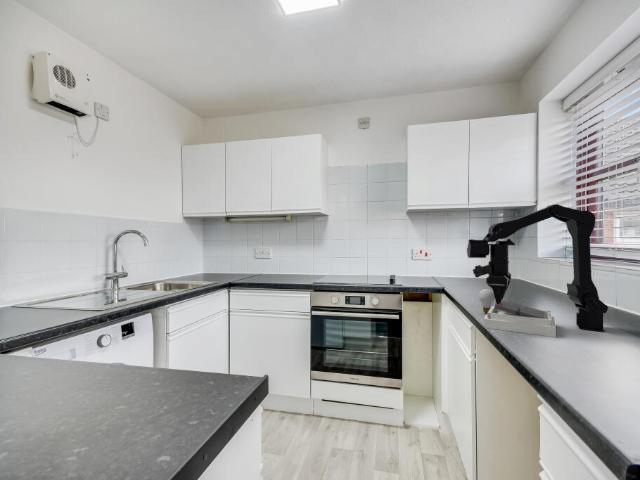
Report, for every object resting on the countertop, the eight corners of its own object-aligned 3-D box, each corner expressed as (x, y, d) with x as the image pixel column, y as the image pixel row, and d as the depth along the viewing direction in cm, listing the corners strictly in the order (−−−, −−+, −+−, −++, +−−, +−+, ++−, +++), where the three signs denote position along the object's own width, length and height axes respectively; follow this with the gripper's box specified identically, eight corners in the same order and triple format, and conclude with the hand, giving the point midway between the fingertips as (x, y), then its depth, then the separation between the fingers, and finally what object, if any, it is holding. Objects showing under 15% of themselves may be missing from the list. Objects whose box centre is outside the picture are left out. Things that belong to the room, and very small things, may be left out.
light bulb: (491, 312, 133) (491, 288, 133) (497, 315, 127) (497, 290, 127) (476, 311, 134) (476, 287, 134) (482, 315, 128) (482, 290, 128)
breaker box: (554, 325, 112) (553, 311, 112) (555, 337, 99) (555, 321, 99) (489, 317, 123) (489, 304, 123) (483, 327, 110) (483, 312, 110)
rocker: (542, 314, 112) (543, 310, 112) (542, 322, 102) (543, 317, 102) (498, 302, 120) (498, 299, 120) (494, 308, 110) (495, 304, 110)
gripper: (478, 256, 127) (478, 295, 127) (469, 259, 111) (470, 303, 111) (511, 256, 120) (511, 298, 120) (506, 259, 105) (507, 307, 105)
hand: (499, 301), depth 115 cm, fingers open, 9 cm apart
